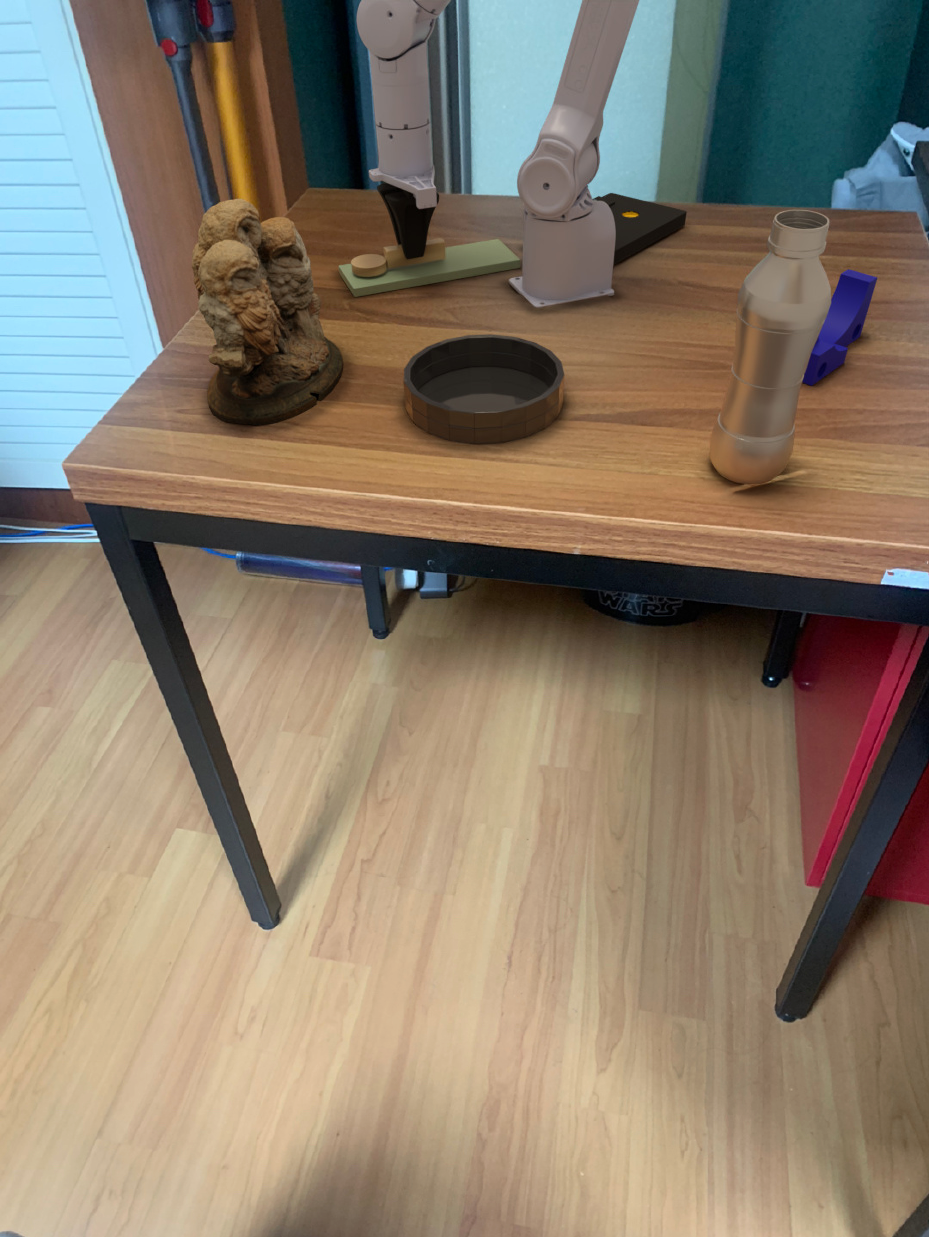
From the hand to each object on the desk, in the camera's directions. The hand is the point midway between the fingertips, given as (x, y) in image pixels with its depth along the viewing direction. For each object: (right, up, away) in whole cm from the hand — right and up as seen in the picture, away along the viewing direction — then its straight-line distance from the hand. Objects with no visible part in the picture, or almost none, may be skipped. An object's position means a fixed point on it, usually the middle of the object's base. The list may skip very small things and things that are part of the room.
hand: (411, 253), depth 102 cm
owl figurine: (-12, -20, -17) cm, 28 cm away
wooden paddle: (-2, -1, 0) cm, 2 cm away
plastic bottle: (+29, -30, -29) cm, 51 cm away
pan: (+8, -22, -20) cm, 31 cm away
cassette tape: (+24, +5, +8) cm, 25 cm away
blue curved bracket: (+41, -16, -15) cm, 47 cm away
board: (+2, -1, +2) cm, 3 cm away
